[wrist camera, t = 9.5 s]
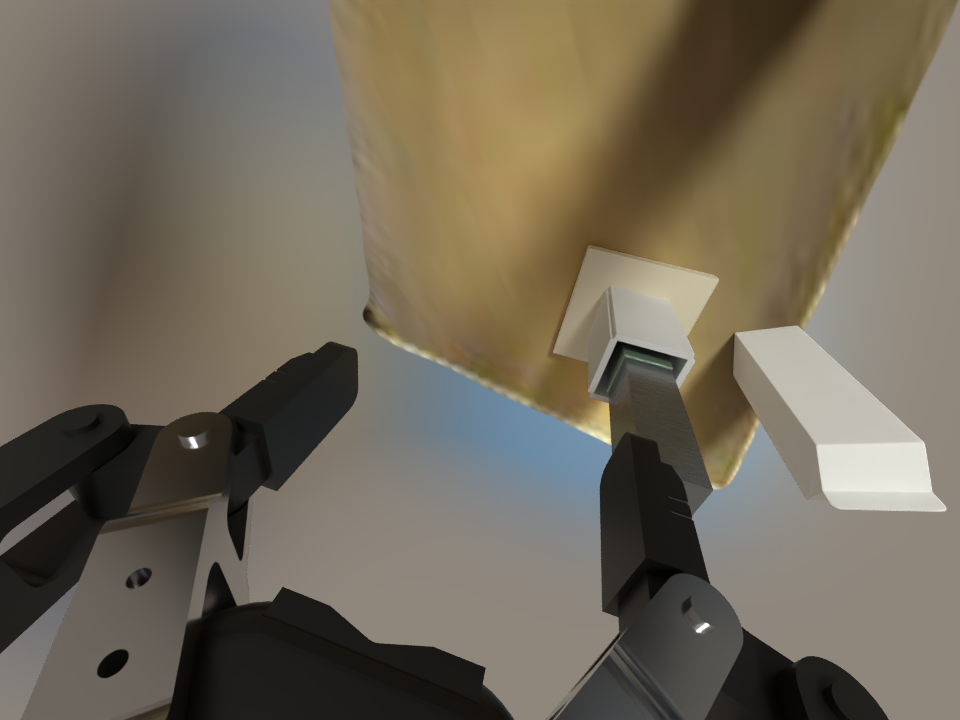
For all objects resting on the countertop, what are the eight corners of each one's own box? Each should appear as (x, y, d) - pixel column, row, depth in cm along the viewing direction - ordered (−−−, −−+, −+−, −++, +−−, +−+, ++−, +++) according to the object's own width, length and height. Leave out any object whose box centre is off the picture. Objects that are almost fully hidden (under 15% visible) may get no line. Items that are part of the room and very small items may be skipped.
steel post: (619, 325, 37) (640, 466, 21) (662, 336, 36) (716, 489, 21) (603, 362, 39) (611, 513, 24) (643, 373, 39) (677, 535, 23)
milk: (791, 369, 43) (938, 542, 25) (731, 375, 45) (826, 537, 27) (797, 323, 40) (967, 479, 22) (733, 331, 43) (840, 479, 24)
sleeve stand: (588, 244, 42) (587, 289, 30) (715, 275, 40) (769, 336, 28) (553, 347, 49) (541, 416, 37) (659, 376, 48) (681, 459, 36)
